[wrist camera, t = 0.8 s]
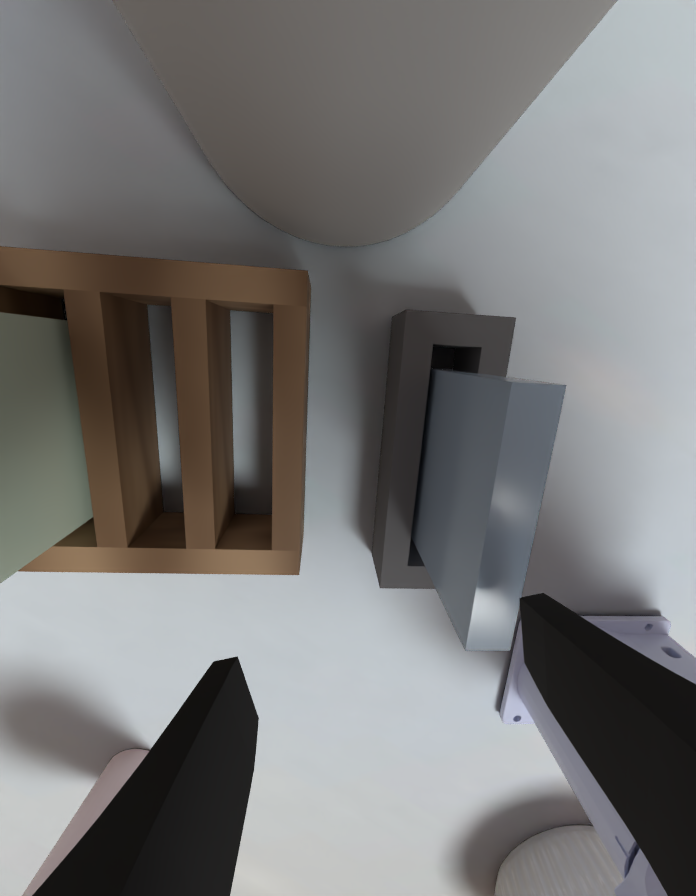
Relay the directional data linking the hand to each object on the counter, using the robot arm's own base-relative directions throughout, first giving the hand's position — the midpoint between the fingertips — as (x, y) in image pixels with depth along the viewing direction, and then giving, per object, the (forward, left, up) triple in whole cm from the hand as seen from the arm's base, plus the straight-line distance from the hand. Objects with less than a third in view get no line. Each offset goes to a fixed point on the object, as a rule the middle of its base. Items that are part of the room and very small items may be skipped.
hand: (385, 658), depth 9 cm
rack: (+9, -4, -10) cm, 14 cm away
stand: (-3, -3, -10) cm, 11 cm away
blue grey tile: (-3, -3, -10) cm, 11 cm away
